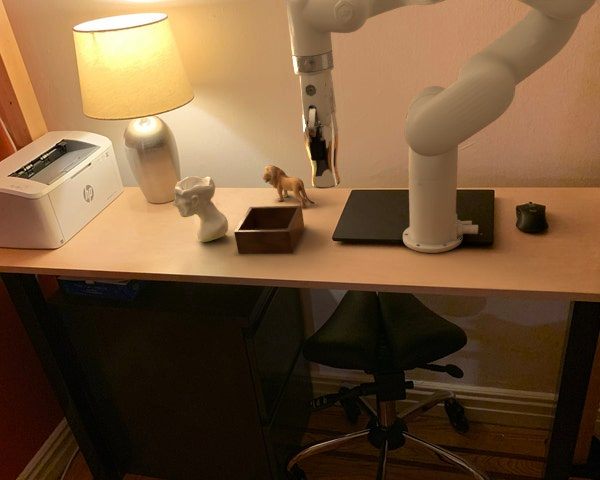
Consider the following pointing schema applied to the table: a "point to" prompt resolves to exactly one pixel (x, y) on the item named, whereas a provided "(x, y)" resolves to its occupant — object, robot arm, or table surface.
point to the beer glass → (327, 169)
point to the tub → (269, 239)
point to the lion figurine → (285, 184)
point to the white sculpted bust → (201, 206)
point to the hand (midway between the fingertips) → (322, 152)
